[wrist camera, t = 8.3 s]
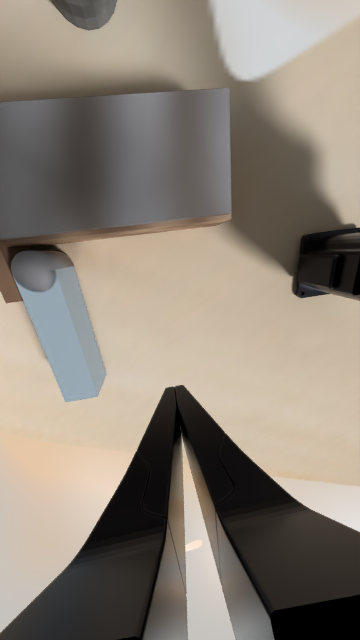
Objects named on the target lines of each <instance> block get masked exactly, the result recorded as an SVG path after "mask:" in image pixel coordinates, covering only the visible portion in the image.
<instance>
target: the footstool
mask: <svg viewBox="0 0 360 640" xmlns="http://www.w3.org/2000/svg"><path fill="white" fill-rule="evenodd" d="M231 213H232V211H231V150H230V89H229V88H217V89H202V90H186V91H170V92H154V93H138V94H122V95H107V96H91V97H75V98H59V99H43V100H27V101H12V102H0V291H1V293H2V295H3V297H4V300H5V302H6V303H11V302H18V301H23V299H22V296H21V294H20V292H19V289H18V287H17V284H16V282H15V280H14V277H13V275H12V272H11V262H12V259H13V258H14V256H15V255H16V254H18V253H20V252H22V251H31V249H30V247H37V246H46V245H54V244H63V243H71V242H80V241H88V240H97V239H105V238H114V237H122V236H131V235H139V234H148V233H157V232H165V231H174V230H182V229H191V228H199V227H208V226H216V225H218V224H220V223H223V222H225V221H227V220H230V219H231Z"/></svg>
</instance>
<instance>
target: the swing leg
mask: <svg viewBox="0 0 360 640" xmlns="http://www.w3.org/2000/svg"><path fill="white" fill-rule="evenodd" d="M11 272H12V275H13V277H14V280H15V282H16V284H17V287H18V289H19V292H20V294H21V296H22V299H23V301H24V304H25V306H26V308H27V311H28V313H29V316H30V318H31V320H32V323H33V325H34V328H35V330H36V332H37V335H38V337H39V340H40V342H41V344H42V347H43V349H44V352H45V354H46V356H47V359H48V361H49V364H50V366H51V368H52V371H53V373H54V376H55V378H56V381H57V383H58V385H59V388H60V390H61V393H62V395H63V397H64V400H65V402H70V401H76V400H82V399H87V398H93V397H98V394H99V392H100V389H101V387H102V384H103V382H104V379H105V377H106V372H105V368H104V365H103V361H102V358H101V355H100V351H99V348H98V345H97V341H96V338H95V335H94V331H93V328H92V324H91V321H90V318H89V314H88V311H87V308H86V304H85V301H84V298H83V294H82V291H81V287H80V284H79V281H78V277H77V274H76V271H75V267H74V264H73V262H72V261H71V259H70V258H69V257H68V256H67V255H65V254H64V253H62V252H59V251H22V252H20V253H18V254H16V255H15V256H14V258H13V259H12V262H11Z"/></svg>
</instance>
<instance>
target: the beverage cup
mask: <svg viewBox="0 0 360 640" xmlns="http://www.w3.org/2000/svg"><path fill="white" fill-rule="evenodd" d="M53 2H54V4H55V6H56V7H57V9H58V10H59V11H60V12H61V13H62V15H63V16H64V17H65V18H66V19H67V20H68V21H70V22H71V23H72V24H74V25H75V26H77V27H79V28H83V29H86V30H93V29H99V28H100V27H102V26H103V25H105V24H106V23H107V22H108V21H109V19H110V18H111V16H112V14H113V13H114V10H115V6H116V2H117V0H53Z"/></svg>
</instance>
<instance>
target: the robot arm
mask: <svg viewBox="0 0 360 640" xmlns="http://www.w3.org/2000/svg"><path fill="white" fill-rule="evenodd" d="M307 238H308V241H307ZM301 292H302V294H301ZM325 294H334V295H338V296H342V297H346V298H351V299H355V300H359V301H360V228H352V229H344V230H336V231H328V232H320V233H312V234H306V235H304V236H303V237H302V240H301V250H300V258H299V268H298V278H297V288H296V296H297V297H300V298H305V297H312V296H318V295H325ZM180 427H181V428H180ZM181 433H182V435H181ZM182 438H183V443H184V446H185V450H186V454H187V458H188V461H189V465H190V469H191V473H192V476H193V480H194V484H195V488H196V491H197V495H198V499H199V502H200V506H201V510H202V514H203V518H204V522H205V525H206V529H207V533H208V537H209V540H210V544H211V548H212V551H213V556H214V559H215V563H216V566H217V570H218V574H219V578H220V582H221V585H222V589H223V593H224V597H225V601H226V604H227V608H228V612H229V616H230V620H231V623H232V627H233V631H234V635H235V638H236V640H360V532H358V531H356V530H354V529H352V528H350V527H347V526H345V525H343V524H341V523H339V522H337V521H335V520H332V519H330V518H328V517H326V516H324V515H321V514H319V513H317V512H315V511H313V510H311V509H309V508H308V507H306V506H304V505H303V504H302V503H300V502H299V501H297V500H296V499H295V498H293V497H292V496H291V495H290V494H289V493H287V492H286V491H285V490H284V489H283V488H282V487H281V486H280V485H279V484H277V483H276V482H275V481H274V480H273V479H272V478H271V477H270V476H269V475H268V474H266V473H265V472H264V471H263V470H262V469H261V468H260V467H259V466H258V465H257V464H255V463H254V462H253V461H252V460H251V459H250V458H249V457H248V456H247V455H246V454H245V453H244V452H243V451H242V450H241V449H240V448H239V447H238V446H237V445H236V444H235V443H234V442H233V441H232V440H231V438H230V437H229V436H228V435H227V434H226V433H225V432H224V431H223V430H222V428H221V427H220V426H219V425H218V424H217V423H216V422H215V420H214V419H213V418H212V417H211V416H210V415H209V414H208V413H207V411H206V410H205V409H204V408H203V407H202V406H201V405H200V404H199V402H198V401H197V400H196V399H195V398H194V397H193V396H192V394H191V393H190V392H189V391H188V390H187V389H186V388H185V387H184V386H183V385H179V386H175V388H174V387H168V388H166V389H165V391H164V393H163V395H162V397H161V399H160V401H159V404H158V406H157V408H156V410H155V412H154V414H153V416H152V419H151V421H150V423H149V425H148V427H147V429H146V432H145V434H144V436H143V438H142V440H141V442H140V444H139V447H138V449H137V451H136V453H135V455H134V457H133V459H132V461H131V463H130V465H129V467H128V469H127V471H126V474H125V475H124V477H123V479H122V481H121V482H120V485H119V486H118V488H117V490H116V491H115V493H114V495H113V496H112V498H111V500H110V502H109V503H108V505H107V507H106V508H105V510H104V512H103V513H102V515H101V517H100V519H99V520H98V522H97V524H96V526H95V527H94V529H93V531H92V532H91V534H90V535H89V537H88V539H87V540H86V542H85V544H84V545H83V546H82V548H81V549H80V551H79V552H78V554H77V555H76V556H75V558H74V559H73V560H72V561H71V563H70V564H69V565H68V566H67V567H66V568H65V569H64V570H63V571H62V573H61V574H59V576H57V578H55V579H54V580H53V582H51V583H50V584H49V585H48V586H47V587H46V588H45V589H44V590H43V591H42V592H41V593H40V594H39V595H38V596H37V597H36V598H35V599H34V600H33V601H32V602H31V603H30V604H29V605H28V606H27V607H26V608H25V609H24V610H23V611H22V612H21V613H20V614H19V615H18V616H17V617H16V618H15V619H14V620H13V621H12V622H11V623H10V624H9V625H8V626H7V627H6V628H5V629H4V630H3V631H2V632H1V633H0V640H188V632H187V598H186V564H185V530H184V495H183V460H182Z"/></svg>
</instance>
